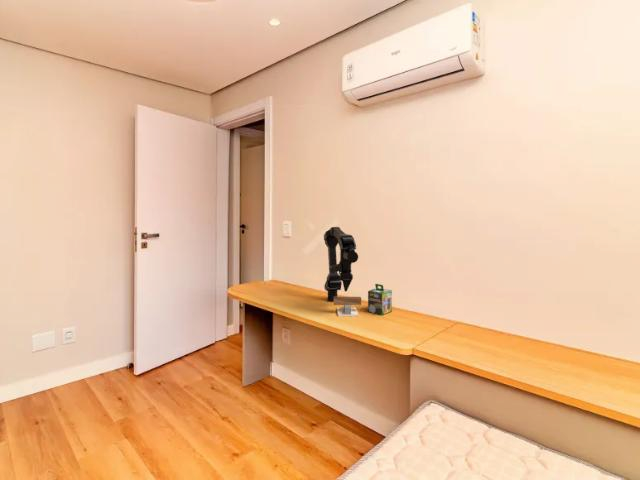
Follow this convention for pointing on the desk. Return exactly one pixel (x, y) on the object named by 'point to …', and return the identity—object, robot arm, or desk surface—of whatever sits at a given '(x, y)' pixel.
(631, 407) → the desk surface
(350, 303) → the bar
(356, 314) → the fulcrum
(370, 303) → the chalk box
